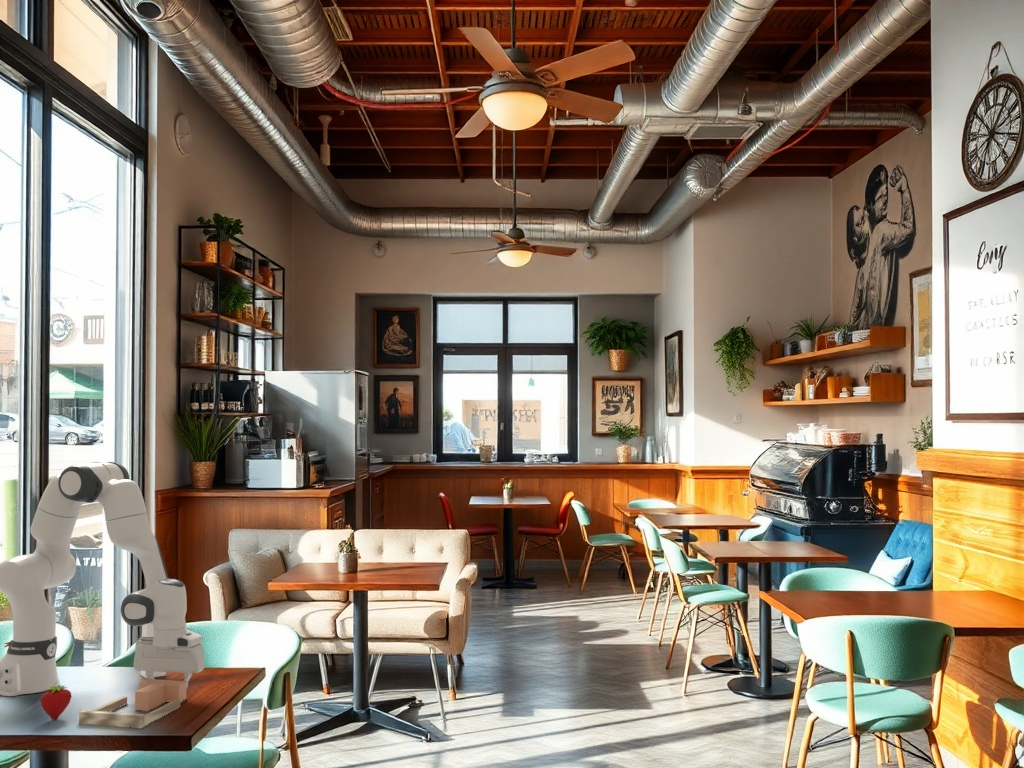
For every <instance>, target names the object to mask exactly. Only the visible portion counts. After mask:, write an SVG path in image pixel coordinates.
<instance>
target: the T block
mask: <svg viewBox="0 0 1024 768" xmlns="http://www.w3.org/2000/svg"><path fill="white" fill-rule="evenodd" d="M186 686H187V681H184V680H173V679H172V680H171V679H170V680H169V679H155V680H154V679H147V678H146V679H145V680H143V681H141V682H138V690H136V691H134V693H135V694H134V711H135V710H143V711H142V712H150V711H151V709H152V710H154V709H156V708H158V707H160V706H161V704H162V703H164V704H166V703H165V702H172V701H174V700H181V702H180V703H182V702H184V701H185V699H186V700H187V688H186ZM183 700H184V701H183ZM159 705H160V706H159ZM162 705H163V704H162ZM157 706H158V707H157ZM155 707H156V708H155ZM153 708H154V709H153ZM149 710H150V711H149Z"/></svg>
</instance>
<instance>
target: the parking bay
mask: <svg viewBox="0 0 1024 768" xmlns="http://www.w3.org/2000/svg"><path fill="white" fill-rule="evenodd" d="M181 703H182V702H181V700H174V701H172V702H170V703H165V704H163V706H159V707H157V708H155V709H153V710H152V711H149V712H148V713H146V714H145V713H133V712H131V713H129V712H116V711H115V710H114V709H116V708H118V707H120V706H122V705H124V704H126V705H128V696H123V695H122V696H120V697H118V698H116V699H113V700H111V701H109V702H107V703H105V704H102V705H100V706H98V707H96V708H94V709H92V710H86V709H85V710H80V711H79V712H78V725H86V724H95V725H94V726H101V725H106V726H105V727H115V726H117V728H118V727H119V728H129V727H131V728H132V729H142V728H144V727H146V726H148V725H150V724H152V723H154V722H155V720H156V721H157V720H159V719H162V718H163V717H165V716H167V715H168V713H169V714H171V713H173V712H174V710H175V711H176V710H178V709H180V708H181ZM124 706H125V705H124ZM122 707H123V706H122ZM179 707H180V708H179ZM120 708H121V707H120ZM118 709H119V708H118ZM112 710H113V711H112ZM116 710H117V709H116ZM110 711H111V712H110ZM114 711H115V712H114ZM172 711H173V712H172ZM170 712H171V713H170ZM166 714H167V715H166ZM164 715H165V716H164ZM162 716H163V717H162ZM153 721H154V722H153ZM151 722H152V723H151ZM149 723H150V724H149Z"/></svg>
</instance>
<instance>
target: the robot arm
mask: <svg viewBox="0 0 1024 768" xmlns="http://www.w3.org/2000/svg"><path fill="white" fill-rule="evenodd" d="M94 502H98V503H99V504H100V505H101V506H102V508H103V512H104V518H105V519H104V520H105V524H106V531H107V534H108V537H109V539H110V541H111V543H112V544H113V545H114V546H116V547H117V548H119V549H121V550H124V551H127V552H129V553H131V554H133V555H134V556H135V557H136V558H137V559H138V560H139V562H140V565H141V569H142V572H143V575H144V580H145V584H146V587H145V588H143V589H141V590H140V589H139V590H137V591H134V592H131V593H130V594H127V595H126V596H125V597H124V598H123V600H122V601H121V605H120V615H121V618H122V620H123V621H124V622H125V623H126V624H127V625H130V626H132V627H135V626H136V627H140V626H141V627H142V625H145V624H152V625H153V637H142V636H140V637H138V639H136V641H135V652H134V658H133V669H134V670H135V671H137V672H138V671H140V672H141V671H146V677H147V678H146V680H147V679H154V680H156V679H155V678H156V677H154V676H153V673H154V671H157V672H166V673H178V674H179V673H180V674H181V673H183V677H184V679H183V681H187V686H186V689H188V688H189V681H190V679H191V677H192V676H193V674H198V673H200V672H202V671H203V670H204V669H205V665H206V661H205V660H206V658H205V656H206V654H205V647H204V646H203V645H202V644H201V643H203V639H204V637H203V635H201V634H199V633H197V632H195V631H192V630H189V629H187V622H186V614H187V609H188V608H187V607H188V605H187V604H188V603H187V601H188V599H187V597H188V596H187V589H186V585H185V583H184V582H183V581H181V580H179V579H176V578H169V576H168V575H169V574H168V571H167V569H166V564H165V561H164V558H163V553H162V550H161V547H160V545H159V542H158V540H157V538H156V536H155V535H154V533H153V531H152V528H151V525H150V521H149V519H148V518H149V517H148V512H147V508H146V505H145V500H144V496H143V493H142V491H141V488H140V487H139V484H138V483H137V482H136V481H134V480H131V479H130V474H129V471H128V470H127V468H126V467H125V466H124V465H122V464H120V463H118V462H115V461H92V462H88V463H76V464H74V465H70V466H68V467H66V468H65V469H64V470H63V471H62V472H60V473H58V474H56V475H54V476H52V477H51V479H50V480H49V482H48V484H47V486H46V487H45V489H44V491H43V493H42V496H41V497H40V500H39V503H38V505H37V507H36V511H35V514H34V517H33V519H32V522H31V525H30V530H29V531H30V534H31V536H32V538H33V539H34V540H36V543H35V545H36V546H35V550H34V551H33V552H32V553H29V554H23V555H21V554H20V555H17V556H16V555H15V556H14V557H11V558H8V559H6V560H4V561H2V562H1V563H0V592H1V593H2V594H4V596H6V597H7V600H8V602H9V604H10V607H11V611H12V612H11V613H12V621H13V622H12V627H13V628H12V629H13V630H12V640H10V641H8V642H5V643H4V645H3V648H7V647H8V648H7V650H6V653H5V654H3V655H2V656H1V657H0V696H3V697H4V696H5V697H15V696H20V695H25V694H26V695H27V694H35V693H37V694H38V693H42V692H46V691H45V690H47V689H51V688H50V687H54V686H55V687H56V686H58V687H60V685H61V683H60V679H59V675H58V669H57V661H56V659H57V658H56V655H57V649H58V637H57V636H56V633H57V630H56V627H57V610H56V609H55V607H54V606H52V605H51V604H49V603H48V601H47V599H46V596H45V590H47V589H52V588H53V589H54V588H56V587H58V586H61V585H63V584H65V583H67V582H69V581H71V580H72V579H73V577H74V576H75V574H76V572H77V562H76V559H75V557H74V556H73V555H72V553H71V538H72V535H73V533H74V529H75V526H76V523H77V519H78V517H79V514H80V511H81V507H82V505H83V503H90V504H91V503H94ZM55 683H56V684H55ZM54 684H55V685H54Z"/></svg>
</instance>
